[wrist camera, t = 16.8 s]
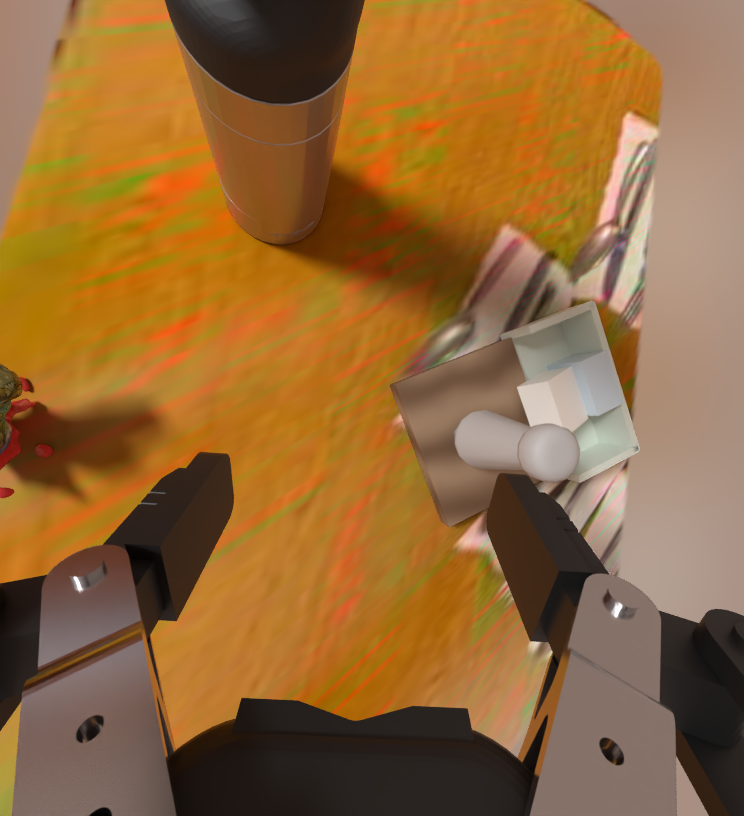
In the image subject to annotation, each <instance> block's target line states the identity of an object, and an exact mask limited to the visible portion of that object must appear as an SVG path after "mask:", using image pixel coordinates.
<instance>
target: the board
mask: <svg viewBox="0 0 744 816" xmlns="http://www.w3.org/2000/svg"><path fill="white" fill-rule="evenodd" d="M524 382H526V379H525V376H524V373H523V370H522V367H521V364H520V361H519V359H518V356H517V353H516V350H515V347H514V344H513V341H512V338H507V339H504V340H500V341H498V342H495V343H493V344H490V345H488V346H485V347H483V348H480V349H478V350H475V351H473V352H470V353H468V354H465V355H463V356H460V357H458V358H455V359H453V360H451V361H448V362H446V363H443V364H441V365H438V366H436V367H433V368H431V369H428V370H426V371H423V372H421V373H418V374H416V375H413V376H411V377H408V378H406V379H403V380H401V381H398V382H396V383H393V384H391V385H390V387H391V390H392V392H393V395H394V398H395V400H396V403H397V406H398V408H399V411H400V413H401V416H402V419H403V421H404V424H405V427H406V429H407V432H408V435H409V437H410V440H411V443H412V445H413V448H414V450H415V453H416V456H417V458H418V461H419V464H420V466H421V469H422V472H423V474H424V477H425V479H426V482H427V485H428V487H429V490H430V493H431V495H432V498H433V501H434V503H435V506H436V508H437V511H438V514H439V516H440V519H441V521H442V522H443V523H444V524H445V525H447V526H448V527H451V526H453V525H455V524H457V523H459V522H461V521H463V520H465V519H467V518H469V517H471V516H473V515H475V514H477V513H479V512H481V511H483V510H485V509H487V508H489V505H490V501H491V498H492V494H493V490H494V487H495V483H496V479H497V477H498V475H499V474H500V473H511V474H526V475H528V476H529V478H530V479H531V480H532V482H533V484H535V483H537V482H539V481H541V480H538V479H535V478H533V477H531V476H530V475H529V474H528V473H527V472H526V471H525V470H489V469H479V468H475V467H472V466H469V465H468V464H467V463H466V462H465V461H464V460H463V459H462V458H461V457H460V456H459V455H458V453H457V450H456V447H455V439H454V432H453V431H454V430H455V429H456V428H457V427H458V426H459V424H460V422H461V420H462V419H463V418H465V417H466V416H467V415H469V414H470V413H471V412H477V411H483V410H487V411H490V412H493V413H496V414H499V415H502V416H504V417H507V418H509V419H512V420H515V421H517V422H520V423H522V424H525V425H528V426H530V424H529V421H528V418H527V415H526V413H525V410H524V407H523V404H522V401H521V398H520V395H519V392H518V389H517V387H518V386H519V385H521V384H523V383H524Z"/></svg>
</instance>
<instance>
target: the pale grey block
mask: <svg viewBox="0 0 744 816" xmlns="http://www.w3.org/2000/svg"><path fill="white" fill-rule="evenodd" d="M569 366H572V369H573V372H574V375H575V378H576V381H577V384H578V387H579V390H580V394H581V397H582V400H583V403H584V406H585V409H586V412H587V415H590V416H599V415H601V414H603V413H605V412H607V411H609V410H611V409H613V408H615V407H617V406H619V405H621V404H623V403H624V402H623V399H622V396H621V393H620V389H619V386H618V383H617V380H616V377H615V373H614V370H613V367H612V364H611V361H610V358H609V354H608V351H607V350H602V351H595V352H589V353H583V354H576V355H570V356H568V357H566V358H563V359H561V360H559V361H557V362H554V363H552V364H550V365H548V366H547V369H548V371H550V370H555V369H560V368H564V367H569Z"/></svg>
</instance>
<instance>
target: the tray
mask: <svg viewBox="0 0 744 816" xmlns="http://www.w3.org/2000/svg"><path fill="white" fill-rule="evenodd" d="M500 337H501V340H504V339H507V338H512V341H513V344H514V347H515V350H516V353H517V356H518V359H519V361H520V364H521V367H522V370H523V373H524V376H525V379H526V381H528V380H529V379H531V378H533V377H534V376H536V375H537V374H539V373H541V372H545V371H548V369H547V366H548V365H550V364H552V363H554V362H557V361H559V360H561V359H563V358H566V357H568V356H570V355H576V354H583V353H589V352H595V351H602V350H607V351H608V354H609V358H610V361H611V364H612V367H613V370H614V373H615V377H616V380H617V383H618V386H619V389H620V393H621V396H622V399H623V402H624V403H623V404H621V405H619V406H617V407H615V408H613V409H611V410H609V411H607V412H605V413H603V414H601V415H599V416H590V415H588V419H587V420H586V421H585V422H584V423H583V424H581V425H580V426H579V427H578V428H577V429H576V430H574V431H573V432H572V433H573V434H574V436H575V437H576V438H577V441H578V444H579V447H580V455H579V463H578V465H577V467H576V469H575V471H574V473H573V474H571V475H570V476H569V477H568V478H567V479H568V480H571V481H575V482H579V483H581V482H583V481H585V480H587V479H589V478H591V477H593V476H594V475H596V474H598V473H600V472H602V471H604V470H606V469H608V468H610V467H612V466H613V465H615V464H617V463H619V462H621V461H623V460H625V459H627V458H629V457H631V456H632V455H634V454H636V453H638V452H639V450H640V446H639V443H638V440H637V437H636V433H635V430H634V427H633V423H632V420H631V417H630V414H629V410H628V407H627V404H626V401H625V397H624V394H623V391H622V388H621V384H620V381H619V378H618V375H617V371H616V368H615V365H614V362H613V358H612V355H611V352H610V349H609V346H608V342H607V339H606V336H605V333H604V329H603V326H602V323H601V320H600V316H599V313H598V310H597V307H596V303H595V302H593V300H592V301H589V302H586V303H583V304H580V305H577V306H574V307H571V308H568V309H565V310H562V311H559V312H556V313H554V314H551V315H549V316H546V317H543V318H541V319H538V320H536V321H533V322H531V323H528V324H526V325H523V326H521V327H518V328H516V329H513V330H511V331H508V332H506V333H503V334H501V335H500Z"/></svg>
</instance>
